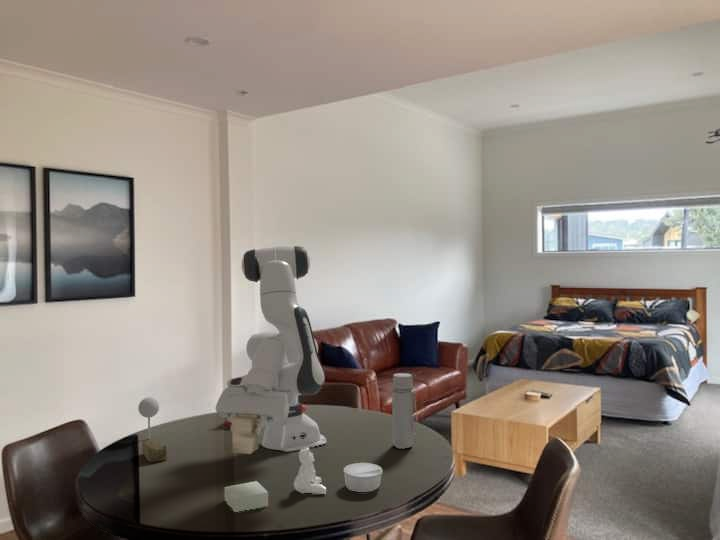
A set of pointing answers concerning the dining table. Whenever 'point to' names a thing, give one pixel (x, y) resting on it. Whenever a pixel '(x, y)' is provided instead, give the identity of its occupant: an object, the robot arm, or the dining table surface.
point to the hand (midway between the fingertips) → (244, 432)
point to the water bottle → (403, 409)
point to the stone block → (154, 450)
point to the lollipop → (148, 409)
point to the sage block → (246, 496)
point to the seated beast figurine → (308, 475)
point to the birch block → (244, 434)
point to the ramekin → (362, 476)
